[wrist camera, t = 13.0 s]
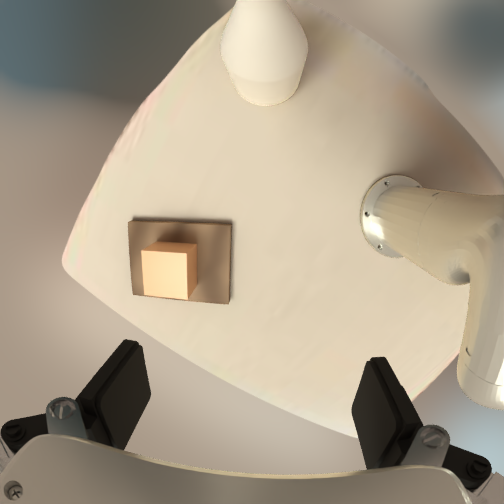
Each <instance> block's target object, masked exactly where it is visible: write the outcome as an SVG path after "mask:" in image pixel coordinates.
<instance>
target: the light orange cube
mask: <svg viewBox="0 0 504 504" xmlns="http://www.w3.org/2000/svg"><path fill="white" fill-rule="evenodd" d="M141 254H142V271H143V285H144V295H149V296H157V297H166V298H175V299H185V300H188V298H189V297H190V295H191V294H192V292H193V291H194V289H195V288H196V286H197V244H192V243H175V242H157V241H156V242H155V243H153V244H151V245H149V246H148V247H146V248H144V249H143V250H141Z"/></svg>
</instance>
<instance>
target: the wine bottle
mask: <svg viewBox="0 0 504 504" xmlns="http://www.w3.org/2000/svg"><path fill="white" fill-rule="evenodd" d="M220 51H221V56H222V59H223V62H224V64H225V66H226V69H227V71H228V73H229V75H230V78H231V80H232V82H233V85H234V87H235V89H236V91H237V92H238V93H239V95H240V96H241V97H243V98H244V99H245V100H247V101H248V102H250V103H253V104H256V105H260V106H273V105H277V104H280V103H282V102H284V101H286V100H287V99H289V98H290V97H291V96H292V95H293V94H294V93H295V91H296V90H297V88H298V85H299V82H300V78H301V75H302V72H303V68H304V65H305V62H306V58H307V54H308V42H307V38H306V35H305V33H304V31H303V28H302V26H301V25H300V23H299V21H298V20H297V18H296V16H295V15H294V13H293V11H292V10H291V8H290V6H289V5H288V3H287V1H286V0H237V1H236V3H235V5H234V8H233V10H232V13H231V15H230V17H229V20H228V22H227V24H226V26H225V28H224V31H223V34H222V38H221V43H220Z"/></svg>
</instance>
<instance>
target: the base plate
mask: <svg viewBox="0 0 504 504" xmlns="http://www.w3.org/2000/svg"><path fill="white" fill-rule="evenodd" d="M231 232H232V224H217V223H194V222H168V221H134V220H132V221H129V222H128V237H129V255H130V269H131V280H132V291H133V295H139V296H147V297H156V298H165V299H174V300H184V301H195V302H205V303H217V304H229V301H230V268H231ZM156 241H157V242H175V243H192V244H197V286H196V288H195V289H194V291H193V292H192V294H191V295H190V297H189V298H188V300H185V299H175V298H166V297H157V296H149V295H144V285H143V271H142V254H141V250H143V249H144V248H146V247H148V246H149V245H151V244H153V243H155V242H156Z"/></svg>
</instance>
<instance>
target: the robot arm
mask: <svg viewBox="0 0 504 504" xmlns="http://www.w3.org/2000/svg"><path fill="white" fill-rule="evenodd" d="M384 182H386V185H385V184H384ZM365 212H367V214H366V215H365ZM360 221H361V227H362V231H363V234H364V236H365V238H366V240H367V241H368V243H369V244H370V245H371V246H372V247H373V249H375V250H376V251H377V252H379V253H380V254H382V255H384V256H387V257H391V258H401V257H405V258H407V259H408V260H410V261H411V262H413V263H414V264H416V265H417V266H419V267H420V268H422V269H423V270H425V271H426V272H428V273H429V274H430V275H432V276H434V277H435V278H437V279H438V280H440V281H442V282H444V283H446V284H449V285H465V284H468V283H470V293H469V301H468V312H467V318H466V324H465V329H464V334H463V339H462V344H461V349H460V353H459V358H458V364H457V378H458V383H459V385H460V388H461V389H462V391H463V392H464V394H465V395H466V396H467V397H468V398H470V400H472V401H474V402H475V403H477V404H479V405H481V406H484V407H487V408H492V409H498V410H504V195H473V194H465V193H458V192H451V191H443V190H435V189H427V188H423V187H422V185H420V184H419V183H418V182H417V181H416V180H414V179H412V178H410V177H406V176H402V175H393V176H388V177H385V178H383V179H381V180H379V181H377V182H376V183H375V184H374V185H373V186H372V187H371V188H370V189H369V191H368V192H367V194H366V196H365V198H364V200H363V203H362V206H361V213H360ZM378 245H380V246H379V247H378ZM150 396H151V390H150V386H149V381H148V376H147V370H146V365H145V360H144V354H143V348H142V346H141V345H139V343H138V342H137V341H132V340H127V339H125V340H123V342H122V343H121V344H120V345H119V346H118V348H117V349H116V350H115V351H114V352H113V354H112V355H111V356H110V357H109V358H108V360H107V361H106V362H105V363H104V365H103V366H102V367H101V368H100V369H99V370H98V372H97V373H96V374H95V375H94V377H93V378H92V379H91V380H90V382H89V383H88V384H87V385H86V387H85V388H84V389H83V390H82V392H81V393H80V394H79V395H78V397H77V398H76V399H75V400H74V399H71V398H68V397H59V398H56V399H54V400H52V401H51V402H50V403H49V404H48V405H47V407H46V413H45V414H40V415H36V416H30V417H26V418H20V419H14V420H10V421H8V422H7V423H5V424H4V425H3V426H2V429H1V434H0V504H504V477H503V476H502V475H500V474H499V473H497V472H496V473H495V474H493V473H492V472H491V471H492V468H491V464H490V462H489V461H488V460H487V459H486V458H484V457H483V456H480V455H477V454H474V453H472V452H469V451H466V450H463V449H461V448H458V447H455V446H453V445H450V436H449V434H448V432H447V431H446V430H445V429H444V428H442V427H440V426H437V425H426V426H423V424H422V422H421V420H420V418H419V416H418V414H417V412H416V410H415V408H414V406H413V404H412V402H411V400H410V399H409V397H408V395H407V393H406V391H405V389H404V388H403V386H401V385H400V383H399V381H398V379H397V377H396V375H395V374H394V372H393V370H392V368H391V366H390V365H389V363H388V361H387V359H386V358H385V357H372V358H371V359H370V361H367V362H366V365H365V368H364V371H363V375H362V378H361V381H360V384H359V387H358V390H357V393H356V396H355V399H354V402H353V405H352V416H353V420H354V423H355V427H356V430H357V434H358V438H359V441H360V445H361V449H362V452H363V456H364V460H365V464H366V468H367V470H361V471H353V472H341V473H329V474H328V473H327V474H309V475H308V474H307V475H306V474H305V475H277V474H253V473H240V472H229V471H220V470H213V469H206V468H199V467H193V466H187V465H182V464H177V463H171V462H167V461H162V460H158V459H154V458H150V457H146V456H142V455H138V454H135V453H131V452H127V451H124V449H125V447H126V445H127V443H128V441H129V439H130V437H131V435H132V433H133V431H134V429H135V427H136V425H137V423H138V421H139V419H140V417H141V415H142V413H143V411H144V409H145V407H146V405H147V404H148V402H149V399H150Z"/></svg>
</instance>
